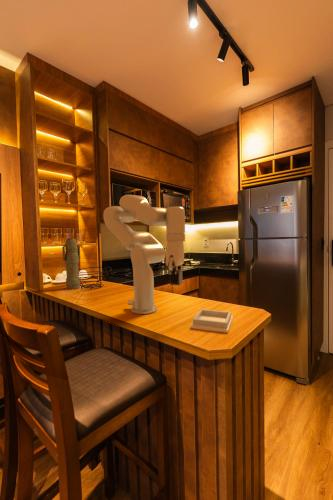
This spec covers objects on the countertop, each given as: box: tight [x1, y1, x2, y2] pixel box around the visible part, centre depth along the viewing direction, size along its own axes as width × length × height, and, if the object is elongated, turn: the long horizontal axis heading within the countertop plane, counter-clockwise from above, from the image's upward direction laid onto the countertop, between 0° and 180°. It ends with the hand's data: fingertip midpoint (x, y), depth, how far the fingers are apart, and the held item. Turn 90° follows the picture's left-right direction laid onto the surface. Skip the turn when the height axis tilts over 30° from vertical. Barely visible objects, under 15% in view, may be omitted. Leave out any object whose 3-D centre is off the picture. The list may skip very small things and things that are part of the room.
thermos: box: [61, 237, 81, 290], centre depth 167 cm, size 9×12×35 cm
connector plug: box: [166, 268, 183, 286], centre depth 98 cm, size 6×4×6 cm
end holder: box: [190, 308, 234, 333], centre depth 96 cm, size 14×16×3 cm
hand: (176, 282), depth 98 cm, fingers closed on connector plug, 4 cm apart
